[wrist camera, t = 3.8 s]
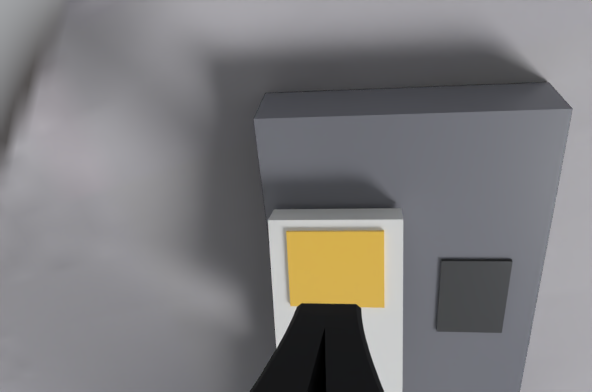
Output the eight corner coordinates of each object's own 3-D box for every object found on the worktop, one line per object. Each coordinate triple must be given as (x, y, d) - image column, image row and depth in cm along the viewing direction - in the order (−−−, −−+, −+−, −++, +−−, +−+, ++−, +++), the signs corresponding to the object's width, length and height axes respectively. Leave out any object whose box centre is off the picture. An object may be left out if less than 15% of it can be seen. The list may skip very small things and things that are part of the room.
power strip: (479, 514, 25) (492, 580, 23) (311, 503, 27) (305, 565, 24) (548, 82, 15) (584, 121, 13) (265, 93, 16) (247, 131, 14)
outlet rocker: (400, 421, 17) (402, 446, 16) (286, 416, 17) (281, 440, 16) (401, 208, 15) (403, 220, 14) (273, 209, 16) (266, 221, 15)
